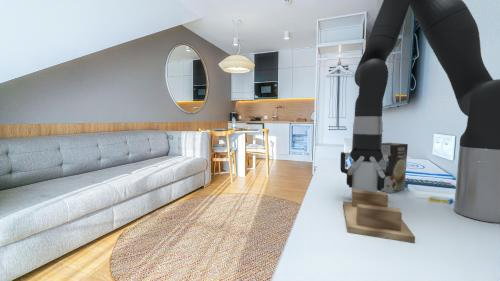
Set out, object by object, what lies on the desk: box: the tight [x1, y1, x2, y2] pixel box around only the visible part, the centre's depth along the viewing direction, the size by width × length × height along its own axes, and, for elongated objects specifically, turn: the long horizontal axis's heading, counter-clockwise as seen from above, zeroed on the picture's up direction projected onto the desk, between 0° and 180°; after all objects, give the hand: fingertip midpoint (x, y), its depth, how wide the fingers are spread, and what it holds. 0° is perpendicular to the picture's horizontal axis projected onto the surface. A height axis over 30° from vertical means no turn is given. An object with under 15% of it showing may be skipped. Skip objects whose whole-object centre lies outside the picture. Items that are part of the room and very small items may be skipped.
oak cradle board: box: [342, 189, 416, 244], centre depth 52 cm, size 12×16×5 cm
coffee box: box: [378, 142, 409, 194], centre depth 76 cm, size 9×6×16 cm
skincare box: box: [351, 159, 379, 192], centre depth 65 cm, size 6×4×12 cm
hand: (364, 188), depth 65 cm, fingers closed on skincare box, 7 cm apart
